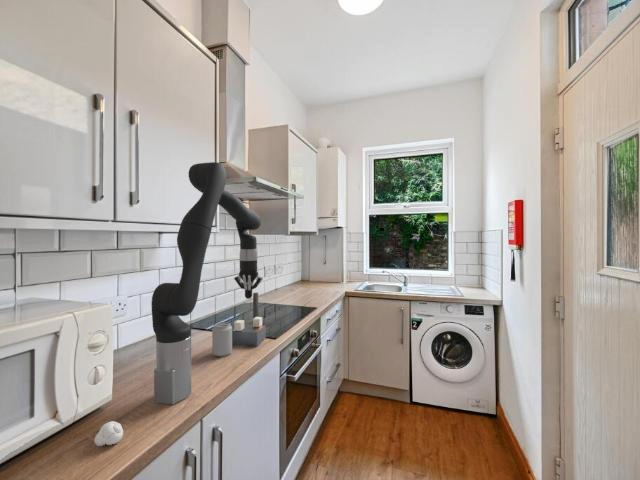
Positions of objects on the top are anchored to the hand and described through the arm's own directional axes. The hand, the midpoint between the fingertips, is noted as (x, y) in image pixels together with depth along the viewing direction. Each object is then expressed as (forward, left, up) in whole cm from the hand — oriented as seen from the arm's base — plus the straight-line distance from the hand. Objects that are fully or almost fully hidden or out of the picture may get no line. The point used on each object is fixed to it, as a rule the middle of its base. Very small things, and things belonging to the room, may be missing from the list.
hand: (248, 298), depth 128 cm
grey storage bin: (0, 0, -19) cm, 19 cm away
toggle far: (+3, -3, -13) cm, 14 cm away
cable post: (+8, 0, -19) cm, 21 cm away
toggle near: (-3, +3, -13) cm, 14 cm away
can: (-14, +5, -20) cm, 25 cm away
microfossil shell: (-64, +6, -20) cm, 67 cm away
